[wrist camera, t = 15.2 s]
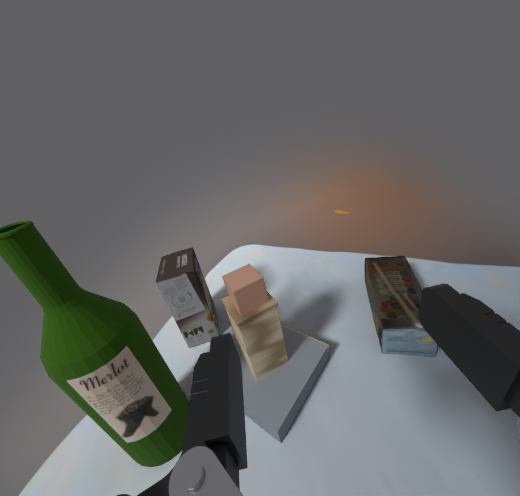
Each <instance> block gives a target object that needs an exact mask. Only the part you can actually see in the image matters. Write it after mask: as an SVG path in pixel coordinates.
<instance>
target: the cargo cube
mask: <svg viewBox="0 0 520 496" xmlns="http://www.w3.org/2000/svg"><path fill="white" fill-rule="evenodd" d="M222 277H223V280H224V283H225V286H226V289H227V292H228V295H229V298H230V300H231V302H232V303H233V305H234V306H235V308H236V309H237V311H238V312H239V313H240V315H241V316H243V315H245V314H247V313H249V312H251V311H252V310H254V309H256V308H258V307H260V306H262V305H264V304H266V303H268V302H269V300H268V296H267V292H266V287H265V283H264V279H263V277H262V276H261V275H260V274H259V273H258V272H257V271H256V270H255V269H254V268H253V267H252V266H251V265H250V264H248V265H246V266H243V267H241V268H239V269H237V270H235V271H232V272H230V273H228V274H226V275H224V276H222Z"/></svg>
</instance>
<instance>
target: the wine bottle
mask: <svg viewBox="0 0 520 496" xmlns="http://www.w3.org/2000/svg"><path fill="white" fill-rule="evenodd" d="M0 256H1V257H2V258H3V259H4V261H5V262H6V263H7V264H8V265H9V267H10V268H11V269H12V270H13V272H14V273H15V274H16V275H17V277H19V279H20V280H21V282H22V283H23V284H24V285H25V286H26V288H27V289H28V290H29V291H30V293H31V294H32V295H33V296H34V297H35V299H36V300H37V301H38V303H39V304H40V305H41V306H42V308H43V312H44V321H43V332H42V345H41V355H40V358H41V360H42V363H43V365H44V367H45V369H46V372H47V374H48V376H49V377H50V378H51V379H52V380H53V381H54V382H55V383H56V384H57V385H58V386H59V387H60V388H61V389H62V390H63V391H64V392H65V393H66V394H67V395H68V396H69V397H70V398H71V399H72V400H73V401H74V402H75V403H76V404H77V405H78V406H79V407H80V408H81V409H82V410H84V411H85V412H86V413H87V414H88V415H89V416H90V417H91V418H92V419H93V420H94V421H95V422H96V423H97V424H98V425H99V426H100V427H101V428H102V429H103V430H104V431H105V432H106V433H107V434H108V435H109V436H110V437H111V438H112V439H113V440H114V441H115V442H116V443H117V444H118V445H119V446H120V447H121V448H122V449H123V450H124V451H125V452H127V453H128V454H129V455H130V456H131V457H132V458H133V459H134V460H135V461H136V462H137V463H139V464H140V465H142V466H147V467H154V466H159V465H162V464H164V463H166V462H168V461H169V460H171V459H172V458H173V457H174V456H176V455H177V454H178V453H179V451H180V450H181V449H182V448H183V447H184V443H185V436H186V428H187V421H188V413H189V405H190V402H189V401H188V399H187V397H186V396H185V394H184V392H183V391H182V389H181V387H180V386H179V384H178V382H177V381H176V379H175V377H174V376H173V374H172V372H171V371H170V369H169V368H168V366H167V364H166V363H165V361H164V359H163V358H162V356H161V354H160V353H159V351H158V349H157V348H156V346H155V344H154V343H153V341H152V339H151V338H150V336H149V335H148V333H147V331H146V330H145V328H144V326H143V325H142V323H141V322H140V320H139V318H138V317H137V315H136V314H135V313H134V312H133V311H132V310H131V309H130V308H129V307H127V306H126V305H125V304H124V303H121V302H118V301H115V300H112V299H109V298H106V297H102V296H100V295H97V294H94V293H91V292H88V291H85V290H84V289H82V288H80V287H79V286H78V284H77V283H76V282H75V280H74V279H73V277H72V276H71V275H70V273H69V272H68V271H67V269H66V268H65V267H64V266H63V264H62V263H61V261H60V260H59V259H58V257H57V256H56V255H55V253H54V252H53V251H52V249H51V248H50V246H49V245H48V244H47V243H46V241H45V240H44V238H43V237H42V236H41V235H40V233H39V232H38V230H37V229H36V228H35V226H34V223H33V222H31V221H21V222H17V223H13V224H10V225H7V226H4V227H2V228H0Z"/></svg>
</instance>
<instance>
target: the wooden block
mask: <svg viewBox="0 0 520 496" xmlns="http://www.w3.org/2000/svg"><path fill="white" fill-rule="evenodd" d="M266 292H267V291H266ZM267 296H268V300H269V302H268V303H266V304H264V305H262V306H260V307H258V308H256V309H254V310H252V311H251V312H249V313H247V314H245V315H243V316H241V315H240V313H239V312H238V311H237V309H236V308H235V306H234V305H233V303H232V302H231V300H230V298H229V295H228V296H226V297H223V298H221V300H222V302H223V304H224V305H225V308H226V311H227V314H228V317H229V319H230V322H231V325H232V328H233V331H234V334H235V336H236V339H237V342H238V345H239V348H240V351H241V353H242V355H243V357H244V359H245V361H246V362H247V364H248V366H249V368H250V369H251V371H252V373H253V375H254V377H255V378H256V380H257V381H258V380H259V379H261V378H262V377H264V376H265V375H267V374H269V373H270V372H272V371H273V370H275V369H276V368H278V367H280V366H281V365H283V364H284V363H286V362H287V361H288V357H287V352H286V347H285V343H284V338H283V333H282V328H281V324H280V319H279V314H278V310H277V305H278V303H277V301H276V300H275V299H274V298H273V297H272V296H271V295H270V294H269V293H268V292H267Z"/></svg>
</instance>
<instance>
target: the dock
mask: <svg viewBox="0 0 520 496" xmlns="http://www.w3.org/2000/svg"><path fill="white" fill-rule="evenodd" d="M280 324H281V323H280ZM281 328H282V333H283V338H284V343H285V347H286V352H287V357H288V361H287V362H286V363H284V364H283V365H281V366H280V367H278V368H276V369H275V370H273V371H272V372H270V373H269V374H267V375H265V376H264V377H262V378H261V379H259V380H258V381H257V380H256V378H255V377H254V375H253V373H252V371H251V369H250V368H249V366H248V364H247V362H246V361H245V359H244V357H243V355H242V353H241V351H240V348H239V345H238V342H237V339H235V340H234V344H235V346H236V349H237V351H238V354H239V357H240V361H241V367H242V379H243V397H244V414H245V415H247V416H248V417H249V418H250V419H252V420H253V421H254V422H255V423H257V424H258V425H259V426H260V427H262V428H263V429H264V430H265V431H267V432H268V433H269V434H270V435H272V436H273V437H274V438H275V439H277V440H278V441H279V442H280V443H282V441H283V439H284V437H285V435H286V434H287V432H288V430H289V428H290V427H291V425H292V423H293V421H294V419H295V418H296V416H297V414H298V412H299V411H300V409H301V407H302V405H303V403H304V402H305V400H306V398H307V396H308V395H309V393H310V391H311V389H312V388H313V386H314V384H315V382H316V380H317V379H318V377H319V375H320V373H321V372H322V370H323V368H324V366H325V364H326V363H327V361H328V359H329V349H330V348H329V345H328V344H326V343H323V342H321V341H319V340H317V339H314V338H312V337H310V336H308V335H305V334H303V333H301V332H299V331H296V330H294V329H292V328H290V327H287V326H285V325H283V324H281Z"/></svg>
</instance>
